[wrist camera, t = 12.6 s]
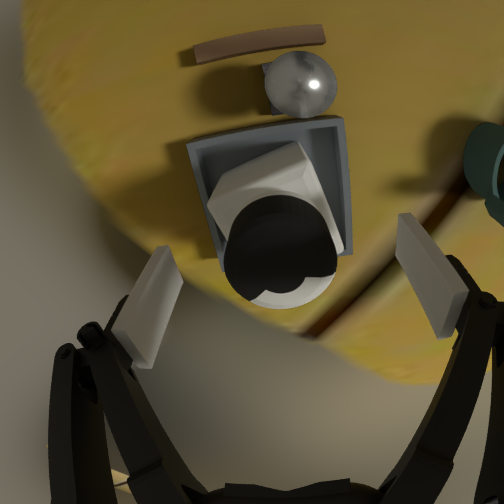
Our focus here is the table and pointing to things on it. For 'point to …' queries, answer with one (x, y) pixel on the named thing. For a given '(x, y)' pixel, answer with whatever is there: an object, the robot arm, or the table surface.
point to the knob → (299, 84)
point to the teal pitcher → (486, 166)
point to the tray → (268, 139)
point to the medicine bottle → (276, 229)
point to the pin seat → (259, 42)
